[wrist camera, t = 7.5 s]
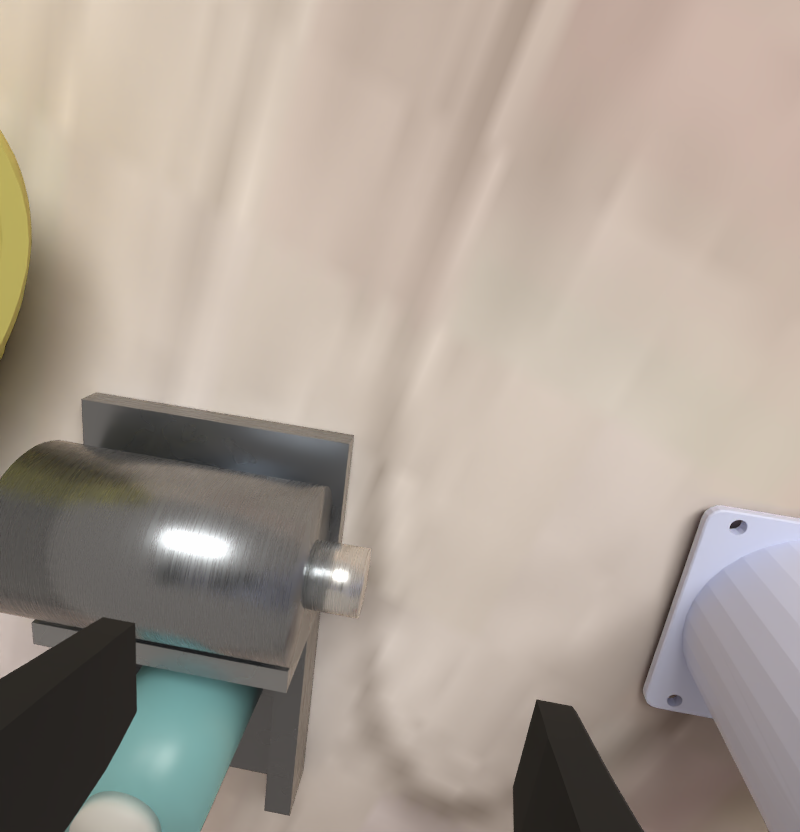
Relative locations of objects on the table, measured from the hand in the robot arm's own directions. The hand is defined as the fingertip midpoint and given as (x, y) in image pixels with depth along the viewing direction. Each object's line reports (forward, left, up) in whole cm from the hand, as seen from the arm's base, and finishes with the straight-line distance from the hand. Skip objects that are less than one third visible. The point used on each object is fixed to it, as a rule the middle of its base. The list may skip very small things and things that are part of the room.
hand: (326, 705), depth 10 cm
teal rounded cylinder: (+6, +9, -9) cm, 15 cm away
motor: (+5, +6, -10) cm, 13 cm away
